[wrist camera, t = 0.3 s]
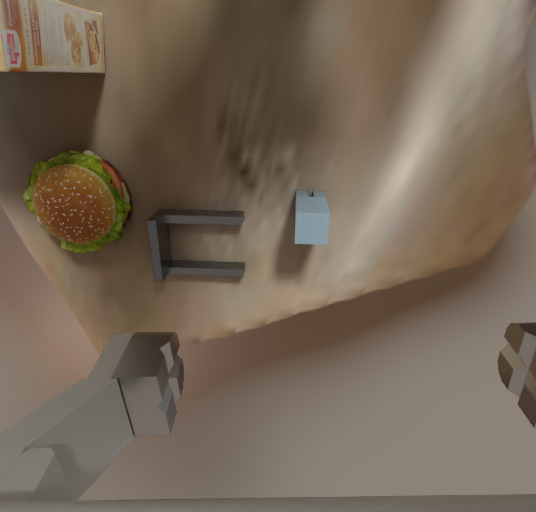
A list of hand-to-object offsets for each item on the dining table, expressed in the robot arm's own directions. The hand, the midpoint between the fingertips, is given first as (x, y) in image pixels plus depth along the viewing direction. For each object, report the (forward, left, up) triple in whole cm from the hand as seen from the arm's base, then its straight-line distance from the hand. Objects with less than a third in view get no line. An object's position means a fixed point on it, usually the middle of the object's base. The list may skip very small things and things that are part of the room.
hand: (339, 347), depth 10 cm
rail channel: (+17, -14, -47) cm, 52 cm away
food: (+10, -31, -48) cm, 58 cm away
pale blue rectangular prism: (+11, +1, -47) cm, 48 cm away
